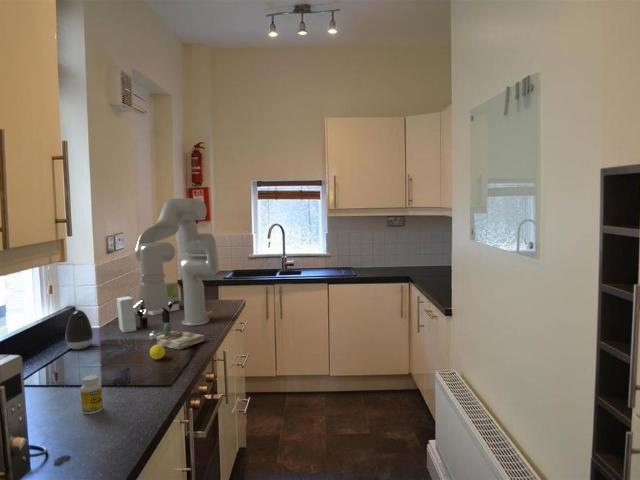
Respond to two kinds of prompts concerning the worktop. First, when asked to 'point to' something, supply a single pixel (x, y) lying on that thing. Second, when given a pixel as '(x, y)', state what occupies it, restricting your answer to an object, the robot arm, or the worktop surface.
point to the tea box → (172, 293)
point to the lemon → (157, 352)
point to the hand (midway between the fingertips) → (155, 325)
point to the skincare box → (126, 314)
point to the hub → (154, 334)
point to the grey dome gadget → (78, 331)
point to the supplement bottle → (91, 395)
